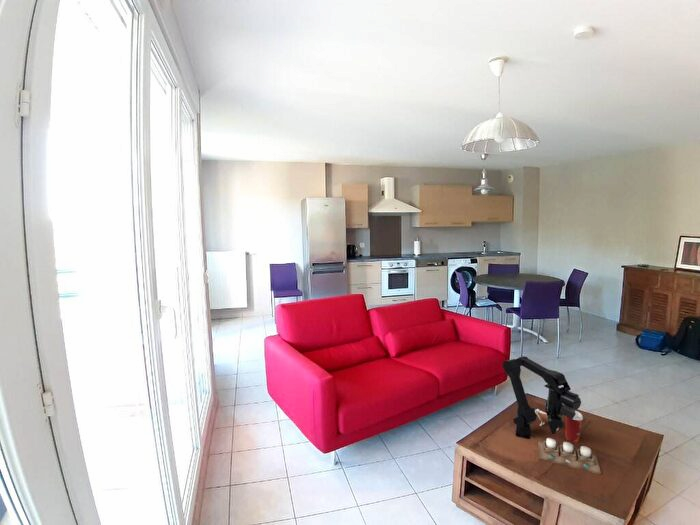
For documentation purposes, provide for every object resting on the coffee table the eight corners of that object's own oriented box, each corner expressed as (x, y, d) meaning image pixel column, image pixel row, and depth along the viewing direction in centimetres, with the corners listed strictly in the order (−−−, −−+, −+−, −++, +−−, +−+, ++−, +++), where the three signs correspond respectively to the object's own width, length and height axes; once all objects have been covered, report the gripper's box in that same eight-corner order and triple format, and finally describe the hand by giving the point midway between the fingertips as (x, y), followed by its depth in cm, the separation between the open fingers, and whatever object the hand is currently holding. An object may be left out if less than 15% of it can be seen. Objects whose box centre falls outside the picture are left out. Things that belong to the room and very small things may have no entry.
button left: (546, 448, 166) (546, 441, 166) (545, 443, 170) (546, 437, 169) (555, 451, 164) (556, 444, 164) (555, 446, 168) (555, 439, 168)
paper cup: (583, 444, 173) (586, 418, 172) (566, 442, 175) (569, 416, 173) (576, 435, 181) (579, 410, 179) (560, 433, 182) (562, 408, 181)
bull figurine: (533, 419, 195) (534, 406, 193) (561, 428, 187) (562, 414, 186) (532, 423, 191) (533, 409, 190) (560, 432, 183) (561, 418, 182)
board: (539, 458, 163) (539, 451, 163) (538, 443, 174) (538, 437, 174) (600, 474, 153) (601, 467, 153) (595, 457, 164) (596, 451, 163)
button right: (580, 457, 160) (581, 450, 160) (579, 452, 164) (580, 445, 163) (591, 459, 158) (591, 452, 158) (589, 454, 162) (590, 447, 162)
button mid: (563, 452, 163) (563, 445, 163) (562, 447, 167) (562, 441, 166) (573, 455, 161) (573, 448, 161) (571, 450, 165) (572, 443, 165)
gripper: (578, 413, 152) (575, 445, 154) (571, 393, 169) (569, 423, 171) (549, 407, 157) (546, 439, 159) (545, 389, 174) (543, 417, 176)
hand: (552, 429), depth 166 cm, fingers open, 7 cm apart
